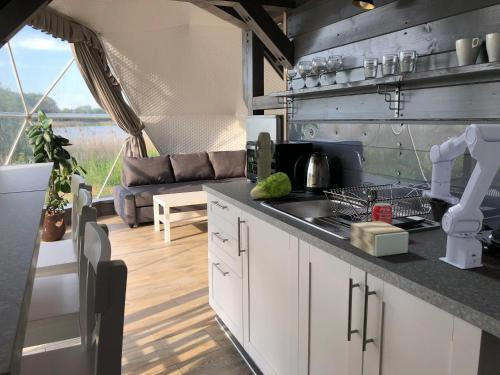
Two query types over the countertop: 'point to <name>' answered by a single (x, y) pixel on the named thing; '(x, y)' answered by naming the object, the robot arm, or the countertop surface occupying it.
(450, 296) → the countertop surface
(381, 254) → the pale green drawer
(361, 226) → the beige wooden rectangular box
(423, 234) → the countertop surface
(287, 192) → the lettuce
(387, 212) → the soda can
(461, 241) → the robot arm
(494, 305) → the countertop surface
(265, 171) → the thermos
